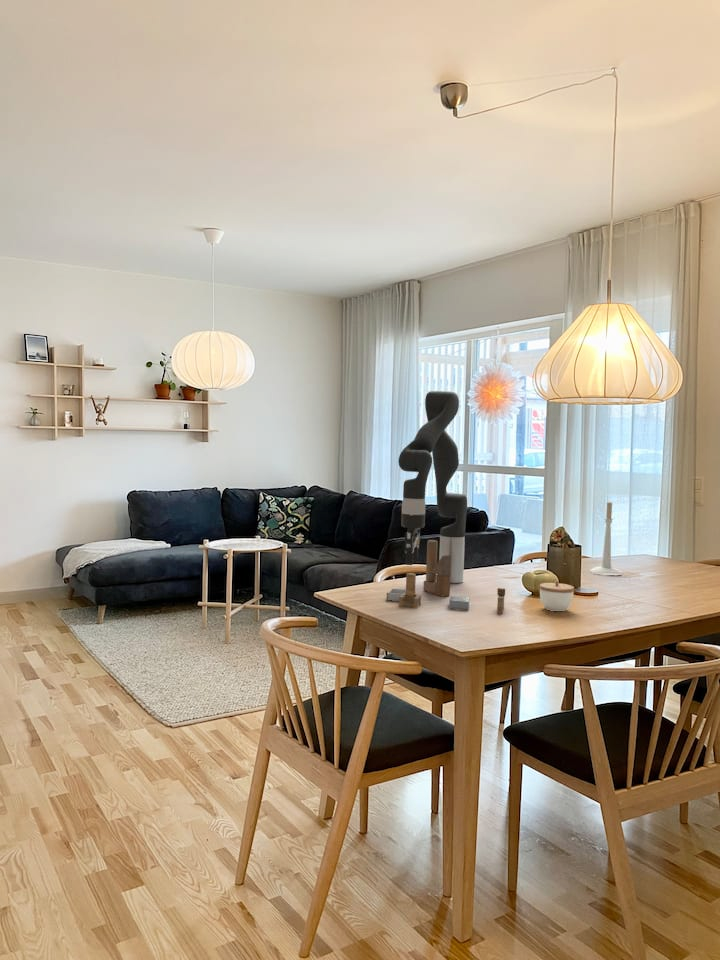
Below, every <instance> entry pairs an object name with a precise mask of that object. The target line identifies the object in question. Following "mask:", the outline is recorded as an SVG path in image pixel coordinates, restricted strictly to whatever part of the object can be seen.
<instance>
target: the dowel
mask: <svg viewBox="0 0 720 960" xmlns="http://www.w3.org/2000/svg"><path fill="white" fill-rule="evenodd" d="M405 574H406V576H405V579H406V580H405V589H406V597H415V594H416V579H417V578H416V577H417V576H416V573H411V572H409V573H405Z"/></svg>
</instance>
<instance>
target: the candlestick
mask: <svg viewBox="0 0 720 960" xmlns="http://www.w3.org/2000/svg"><path fill="white" fill-rule="evenodd" d="M612 511H613V502H611V501H607V502H606V517H604V520H605V522H604V523H605V524H606V525H605V530H604V531H605V532H604V534H605V535H604V541H603V551H602V559H601V560H602V561H601V566H596V567H593V568H591V569H590V570H589V572H590V571H592V572H597V573H620V572H622V571H621V570H620V569H618V568H616V567H612V555H611V553H612V548H611V547H612V545H611V544H612V526H611V525H612V523H613V520H614V518H612V515H613V514H612Z"/></svg>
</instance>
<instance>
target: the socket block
mask: <svg viewBox="0 0 720 960" xmlns="http://www.w3.org/2000/svg"><path fill="white" fill-rule="evenodd" d="M421 603H422V594H419V593H415V597H406V593H403V594H402V595H401V596H400V597H399V602H398V607H403V606H407V607H406V608H414V607H418V606H419V607H420V605H421ZM419 607H418V608H419Z"/></svg>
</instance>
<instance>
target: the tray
mask: <svg viewBox="0 0 720 960" xmlns="http://www.w3.org/2000/svg"><path fill="white" fill-rule="evenodd" d="M403 593H406V588H390V589H388V591H387V592H386V599H385V601H387V600H392V601H391V602H398V601H399V597H400V596H401V595H402V594H403Z"/></svg>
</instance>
